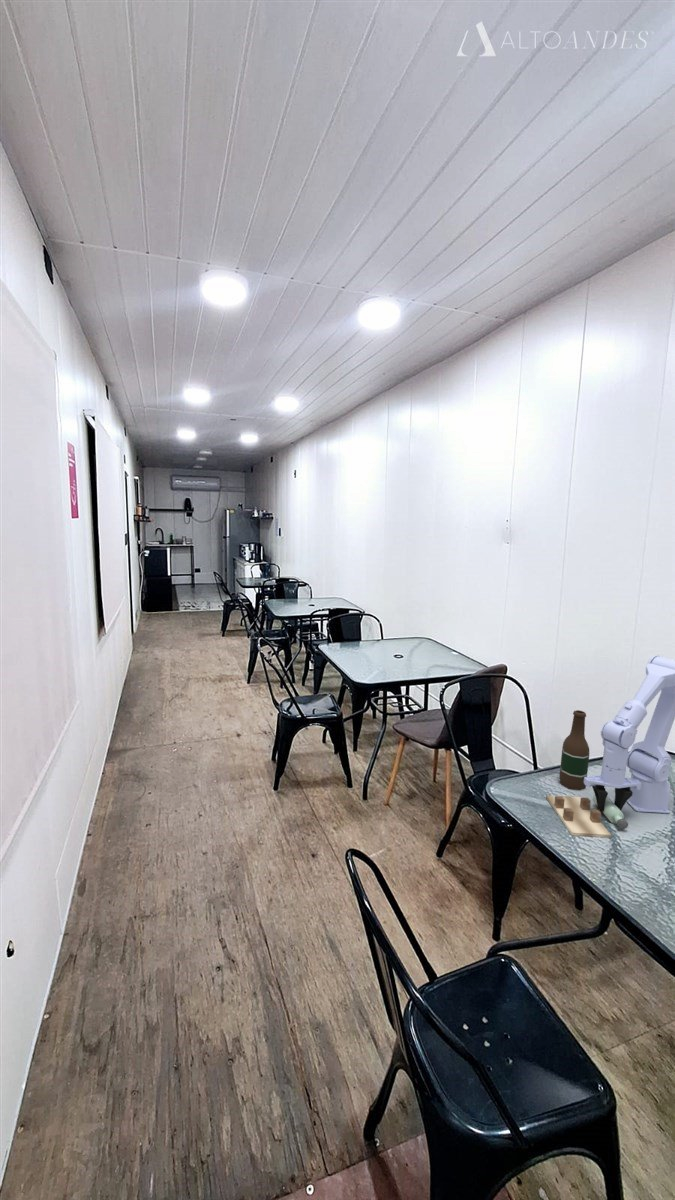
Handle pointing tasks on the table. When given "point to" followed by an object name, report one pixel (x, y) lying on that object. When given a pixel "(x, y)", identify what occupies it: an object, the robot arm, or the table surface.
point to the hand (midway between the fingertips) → (608, 810)
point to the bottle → (613, 813)
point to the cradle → (578, 816)
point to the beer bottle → (575, 755)
